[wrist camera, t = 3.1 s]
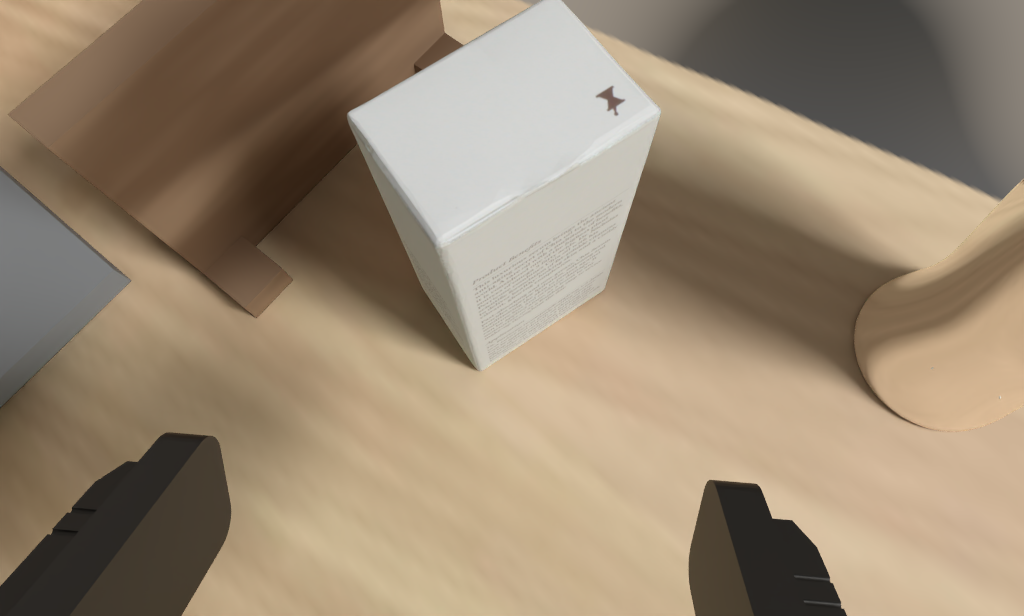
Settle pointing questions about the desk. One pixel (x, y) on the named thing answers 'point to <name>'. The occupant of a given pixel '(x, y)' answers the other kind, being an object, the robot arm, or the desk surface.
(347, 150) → the walnut screen
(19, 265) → the grey mat
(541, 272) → the skincare box
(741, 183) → the desk surface
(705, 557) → the robot arm
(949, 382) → the beer glass
